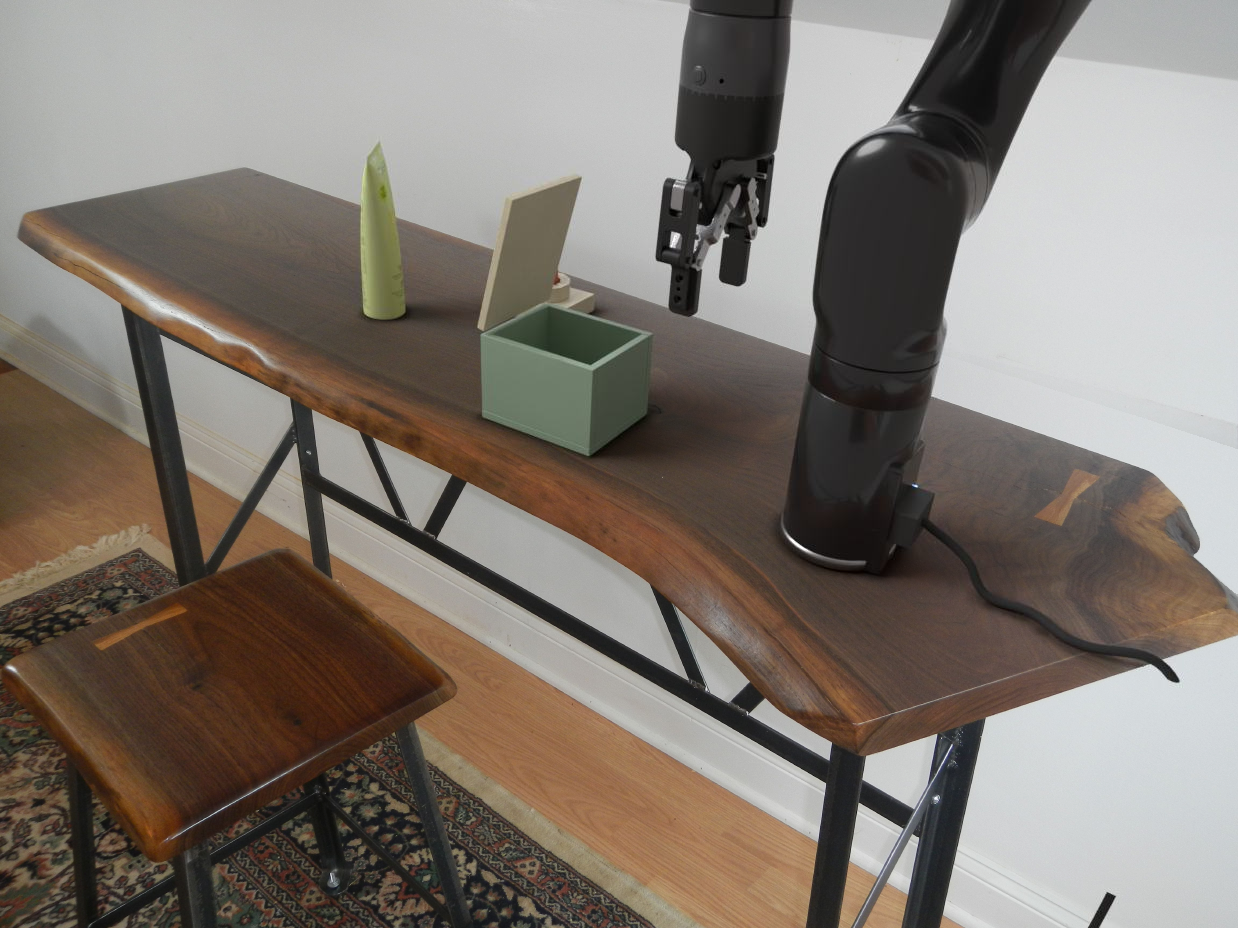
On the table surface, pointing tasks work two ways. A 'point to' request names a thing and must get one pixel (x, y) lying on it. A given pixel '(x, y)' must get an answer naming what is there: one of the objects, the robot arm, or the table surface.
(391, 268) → the tube
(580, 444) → the chest
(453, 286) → the table surface
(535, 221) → the lid
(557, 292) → the button box
